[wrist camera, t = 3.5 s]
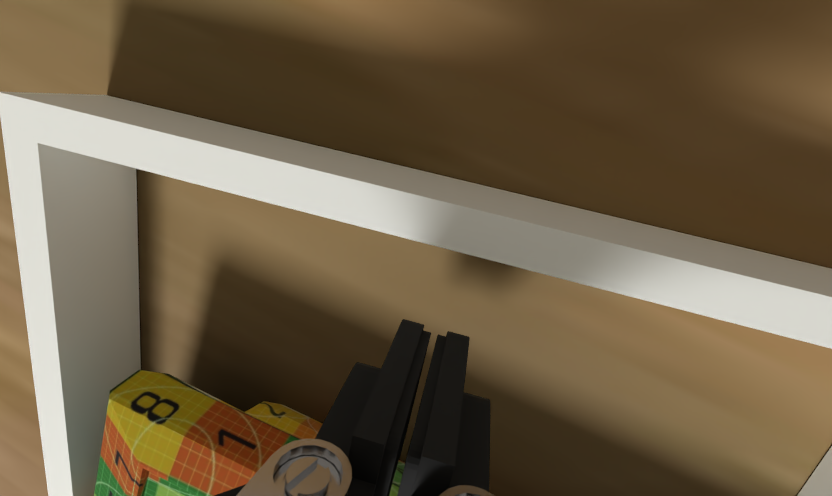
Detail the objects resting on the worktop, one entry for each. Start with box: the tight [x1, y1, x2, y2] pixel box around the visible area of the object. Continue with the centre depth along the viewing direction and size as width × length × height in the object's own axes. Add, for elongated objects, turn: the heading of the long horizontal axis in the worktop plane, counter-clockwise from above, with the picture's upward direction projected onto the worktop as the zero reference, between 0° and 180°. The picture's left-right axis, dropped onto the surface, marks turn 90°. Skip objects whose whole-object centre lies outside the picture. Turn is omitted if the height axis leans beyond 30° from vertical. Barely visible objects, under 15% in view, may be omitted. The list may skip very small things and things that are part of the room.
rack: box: [0, 92, 832, 496], centre depth 13 cm, size 24×17×3 cm
